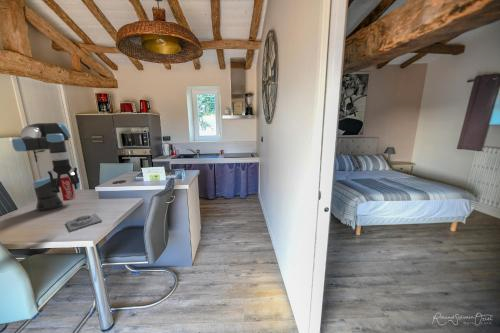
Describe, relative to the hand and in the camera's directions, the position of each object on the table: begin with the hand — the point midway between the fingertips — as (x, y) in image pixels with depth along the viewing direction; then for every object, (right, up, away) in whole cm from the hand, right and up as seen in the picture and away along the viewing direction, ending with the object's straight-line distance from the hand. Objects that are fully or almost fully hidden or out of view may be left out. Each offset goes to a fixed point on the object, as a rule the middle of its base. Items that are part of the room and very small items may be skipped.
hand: (68, 195), depth 128 cm
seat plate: (+5, -19, +6) cm, 20 cm away
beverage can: (0, -3, +1) cm, 3 cm away
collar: (+5, -19, +6) cm, 20 cm away
